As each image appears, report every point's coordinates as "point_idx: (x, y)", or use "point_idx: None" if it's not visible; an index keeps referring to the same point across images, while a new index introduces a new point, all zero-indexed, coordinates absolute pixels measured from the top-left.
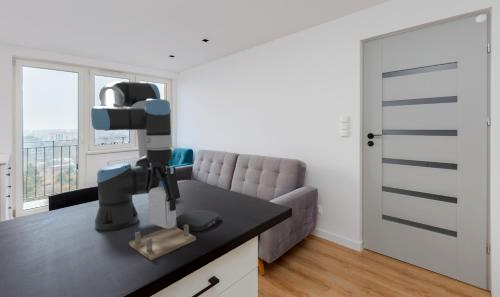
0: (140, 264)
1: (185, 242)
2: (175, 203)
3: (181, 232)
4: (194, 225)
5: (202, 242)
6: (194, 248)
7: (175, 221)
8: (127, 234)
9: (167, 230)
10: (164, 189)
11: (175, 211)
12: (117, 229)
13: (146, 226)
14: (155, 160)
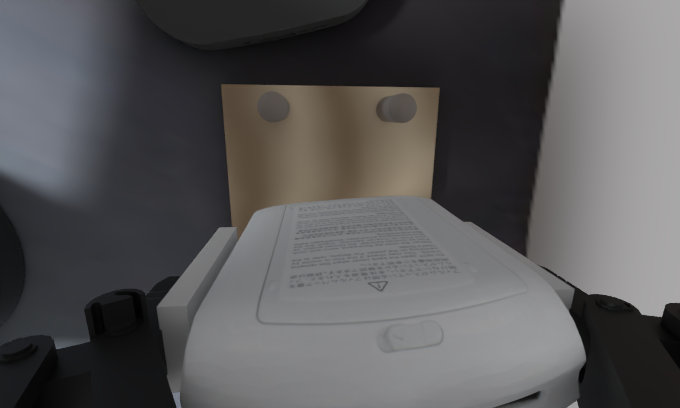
0: None
1: (432, 151)
2: (581, 293)
3: (340, 106)
4: (347, 9)
5: (474, 84)
6: (482, 143)
7: (434, 202)
8: (120, 271)
9: (260, 142)
10: (477, 404)
11: (500, 243)
12: (22, 287)
13: (80, 166)
14: None
